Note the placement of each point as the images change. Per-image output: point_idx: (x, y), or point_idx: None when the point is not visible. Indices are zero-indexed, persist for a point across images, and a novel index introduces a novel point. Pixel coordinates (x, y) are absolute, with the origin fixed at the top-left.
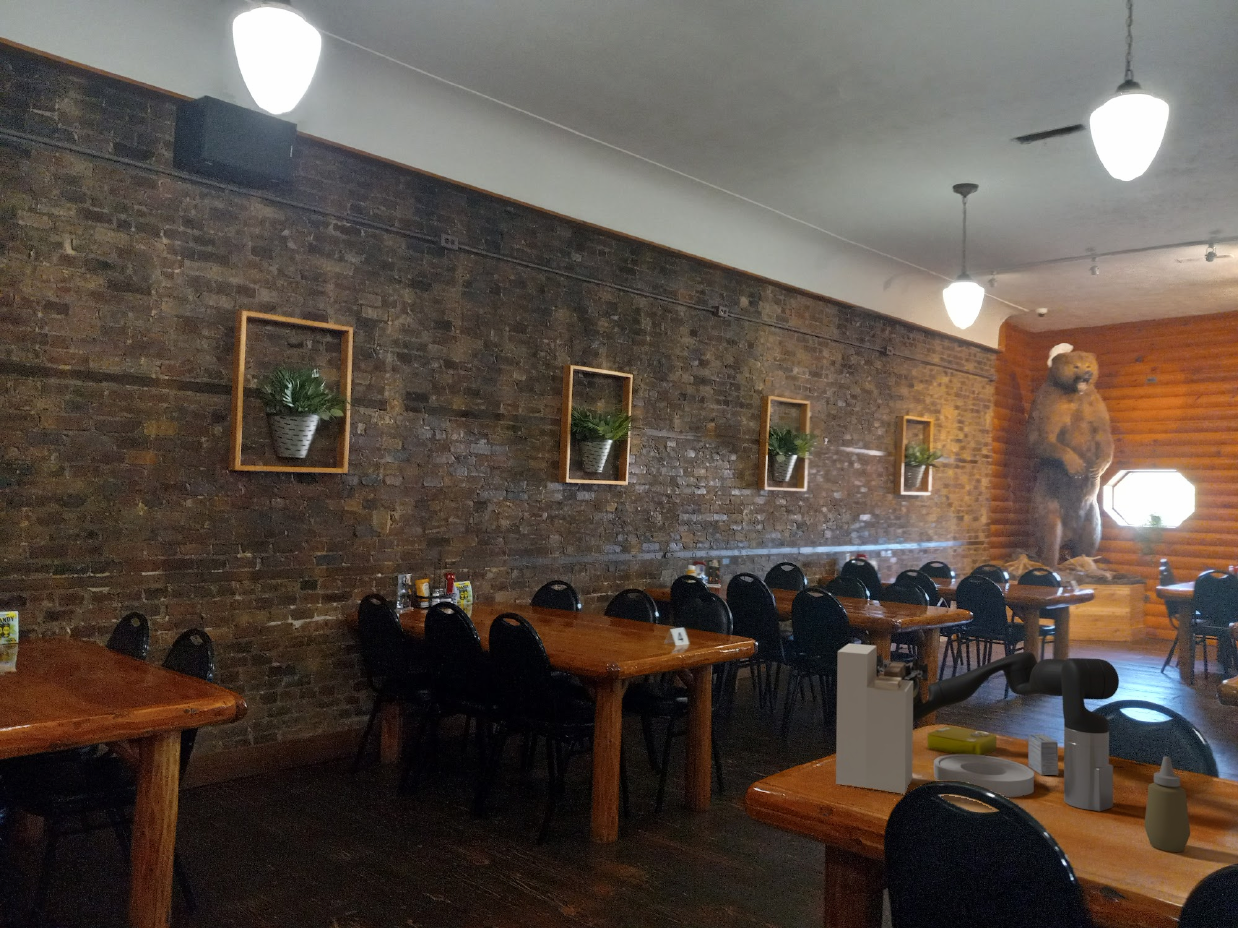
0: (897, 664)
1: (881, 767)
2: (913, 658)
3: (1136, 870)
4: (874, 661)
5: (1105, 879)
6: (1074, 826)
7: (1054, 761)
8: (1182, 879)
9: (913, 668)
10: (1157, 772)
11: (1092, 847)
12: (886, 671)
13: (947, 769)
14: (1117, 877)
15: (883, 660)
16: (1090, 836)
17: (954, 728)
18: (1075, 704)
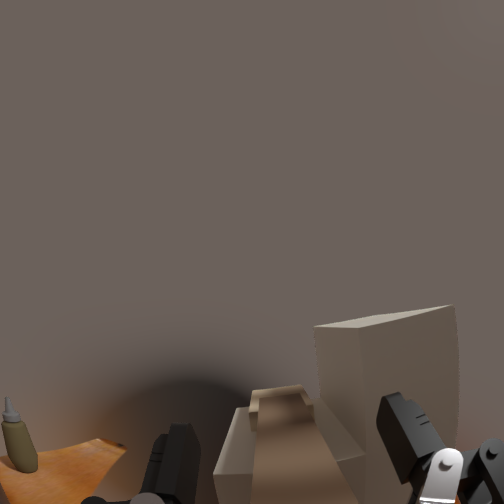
0: (292, 464)
1: None
2: (188, 427)
3: (83, 455)
4: (347, 378)
5: (114, 450)
6: (66, 498)
7: None
8: (65, 449)
9: (195, 494)
10: (9, 415)
11: (86, 474)
12: (292, 394)
13: None
14: (104, 451)
15: (427, 475)
16: (69, 485)
17: None
18: None
